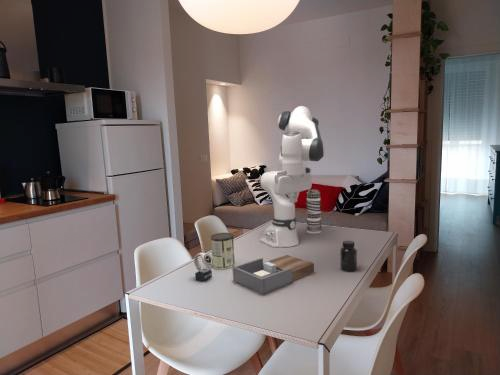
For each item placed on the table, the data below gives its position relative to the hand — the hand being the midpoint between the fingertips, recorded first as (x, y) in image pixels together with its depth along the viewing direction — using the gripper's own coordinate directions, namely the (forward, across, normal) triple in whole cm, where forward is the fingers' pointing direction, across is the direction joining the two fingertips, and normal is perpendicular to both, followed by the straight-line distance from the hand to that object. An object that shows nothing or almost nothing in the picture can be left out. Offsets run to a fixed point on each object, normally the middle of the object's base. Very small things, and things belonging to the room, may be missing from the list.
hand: (293, 202), depth 157 cm
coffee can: (+29, -21, +25) cm, 44 cm away
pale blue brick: (+26, -15, -1) cm, 30 cm away
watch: (+29, -36, +18) cm, 50 cm away
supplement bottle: (+29, +14, -18) cm, 37 cm away
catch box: (+29, -21, -2) cm, 36 cm away
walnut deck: (+29, -6, -2) cm, 30 cm away
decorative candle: (+29, +50, +32) cm, 66 cm away
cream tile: (+26, -21, -2) cm, 33 cm away
